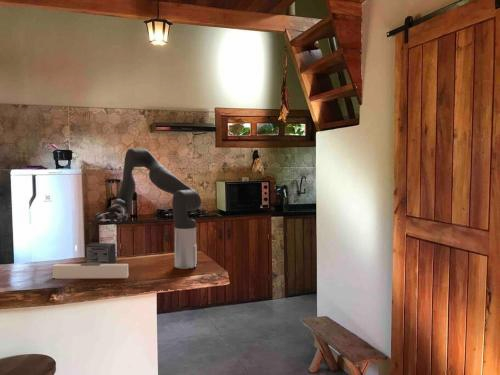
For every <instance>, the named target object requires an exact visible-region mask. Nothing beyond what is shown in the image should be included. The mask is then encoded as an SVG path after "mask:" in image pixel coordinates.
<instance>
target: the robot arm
mask: <svg viewBox="0 0 500 375" xmlns="http://www.w3.org/2000/svg"><path fill="white" fill-rule="evenodd" d="M134 168H146V169H147V170H149V172H148V176H149V180H150V182H151V183H152V184H153V185H154V186H156V187H157V188H158V189H159V190H162V191H163V192H166V193H167V194H168V193H169V194H171V195H172V218H173V224H174V267H175V268H176V269H180V270H181V269H182V270H188V269H189V268H190V269H195V268H194V267H197V265H196V264H197V262H198V261H197V259H198V258H197V253H198V252H197V251H198V249H197V248H198V247H197V246H198V245H197V220H195V219H193V218H190V217H189V215H188V212H193V211H196V210H198V209H199V208H200V207H201V204H202V199H201V196H200V194H199V193H198V192H197V190H195V189H193V188H192V187H191V186H189V185H188V184H186V183H184V182H183V181H182V180H181V179H179V178H178V177H177V176H176V175H174V174H173V173H172V171H170V170H169V169H168V168H166V167H165V166H164V165H163V164H162V163H161V162H159V161H158V159H156V157H155V156H154V155H153V154H152V152H150V151H149V150H148V149H146V148H143V147H141V148H135V147H134V148H128V149H127V150H126V153H125V156H124V164H123V173H122V180H121V185H120V188H119V192H118V198H114V200H113V201H112V203H111V206H110V207H108V208H107V209H106V211H105V213H104V212H103V213H101V212H97V213H95V214H94V215H93V220H94V221H95V222H96V223H100V222H101V221H102V222H107V221H108V222H110V223H114V224H115V223H118V224H119V223H121V222H122V221H123V222H127V220H128V217H129V216H128V215H130V214H131V213H132V211H133V196H134V194H135V189H136V181H135V179H134V176H133V170H134ZM190 269H189V270H190Z"/></svg>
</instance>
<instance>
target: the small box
mask: <svg viewBox="0 0 500 375" xmlns="http://www.w3.org/2000/svg"><path fill="white" fill-rule="evenodd" d="M116 247H117V246H116V243H110V242H108V243H107V242H92V243H89V244H86V245H85V263H101V264H117V255H116V251H117V250H116V249H117V248H116Z"/></svg>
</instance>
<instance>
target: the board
mask: <svg viewBox="0 0 500 375" xmlns="http://www.w3.org/2000/svg"><path fill="white" fill-rule="evenodd" d="M129 274H130V273H129V263H116V264H101V263H86V262H82V263H55V264H54V265H52V279H53V278H55V279H56V280H57V279H58V280H59V279H61V280H62V279H63V280H65V279H128V277H129Z"/></svg>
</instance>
